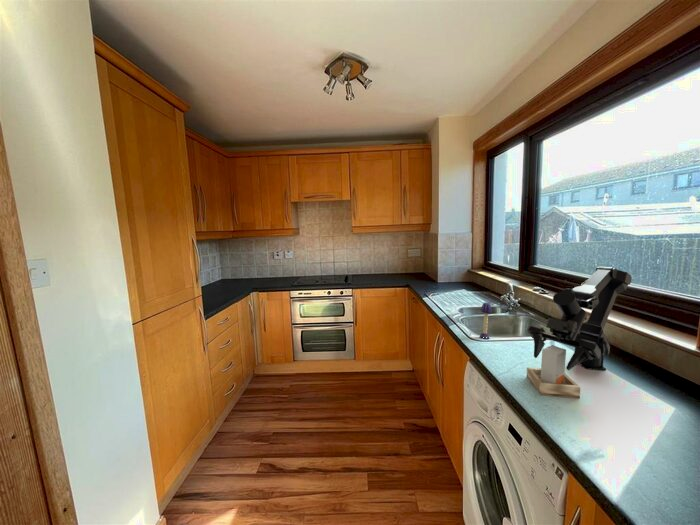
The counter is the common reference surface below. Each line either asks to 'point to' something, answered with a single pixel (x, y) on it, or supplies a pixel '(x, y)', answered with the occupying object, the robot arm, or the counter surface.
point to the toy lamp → (485, 318)
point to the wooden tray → (553, 385)
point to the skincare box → (553, 365)
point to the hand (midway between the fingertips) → (550, 363)
